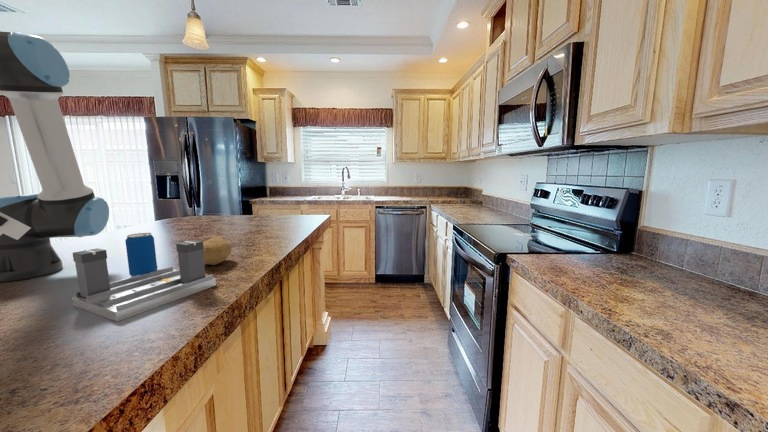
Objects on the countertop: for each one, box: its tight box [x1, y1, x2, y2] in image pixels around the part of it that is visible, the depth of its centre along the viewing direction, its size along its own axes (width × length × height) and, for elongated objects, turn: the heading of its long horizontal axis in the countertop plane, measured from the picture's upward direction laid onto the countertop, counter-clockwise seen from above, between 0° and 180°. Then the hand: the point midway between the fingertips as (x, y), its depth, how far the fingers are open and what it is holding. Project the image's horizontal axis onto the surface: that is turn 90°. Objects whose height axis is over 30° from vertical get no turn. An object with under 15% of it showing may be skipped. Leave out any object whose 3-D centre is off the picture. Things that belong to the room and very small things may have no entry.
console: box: [71, 266, 217, 322], centre depth 75 cm, size 18×22×3 cm
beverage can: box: [124, 232, 158, 277], centre depth 89 cm, size 6×6×12 cm
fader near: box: [72, 247, 111, 297], centre depth 70 cm, size 4×4×10 cm
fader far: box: [175, 239, 206, 283], centre depth 78 cm, size 4×4×10 cm
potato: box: [203, 237, 232, 266], centre depth 100 cm, size 10×14×8 cm
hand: (14, 231), depth 59 cm, fingers open, 8 cm apart
